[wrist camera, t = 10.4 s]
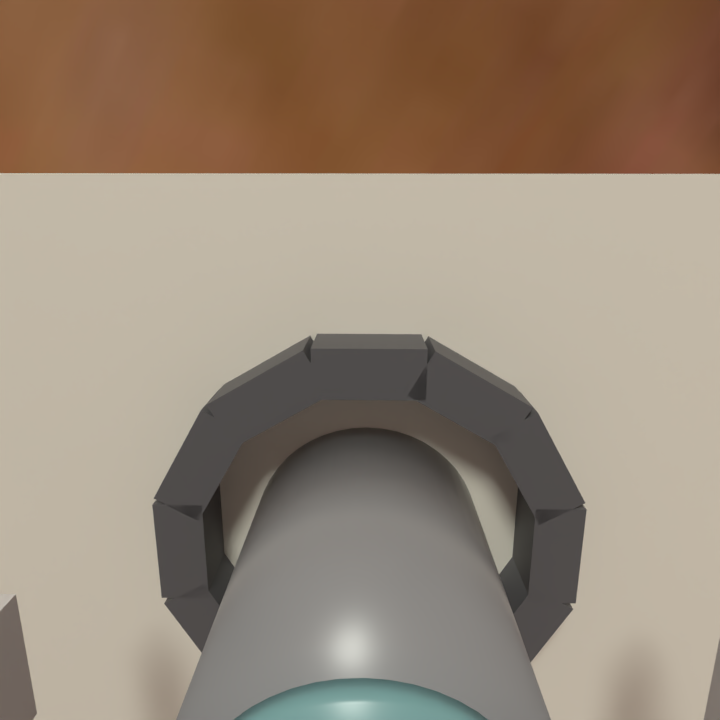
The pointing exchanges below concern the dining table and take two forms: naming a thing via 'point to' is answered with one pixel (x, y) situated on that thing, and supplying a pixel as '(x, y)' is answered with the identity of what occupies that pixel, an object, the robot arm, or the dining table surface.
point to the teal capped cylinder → (365, 597)
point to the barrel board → (361, 407)
